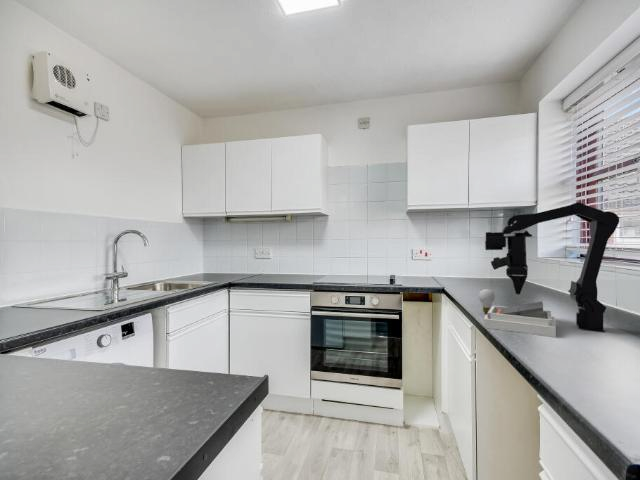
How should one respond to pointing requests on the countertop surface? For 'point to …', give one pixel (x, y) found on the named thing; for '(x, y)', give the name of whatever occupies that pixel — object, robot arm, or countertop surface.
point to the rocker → (522, 309)
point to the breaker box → (521, 322)
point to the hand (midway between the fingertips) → (518, 292)
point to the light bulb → (486, 299)
